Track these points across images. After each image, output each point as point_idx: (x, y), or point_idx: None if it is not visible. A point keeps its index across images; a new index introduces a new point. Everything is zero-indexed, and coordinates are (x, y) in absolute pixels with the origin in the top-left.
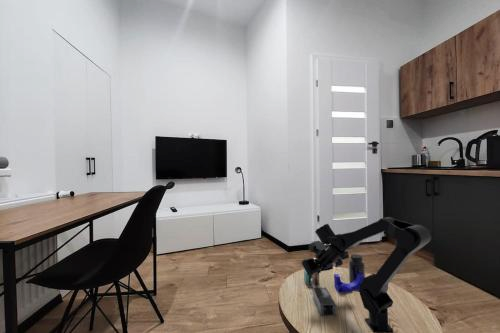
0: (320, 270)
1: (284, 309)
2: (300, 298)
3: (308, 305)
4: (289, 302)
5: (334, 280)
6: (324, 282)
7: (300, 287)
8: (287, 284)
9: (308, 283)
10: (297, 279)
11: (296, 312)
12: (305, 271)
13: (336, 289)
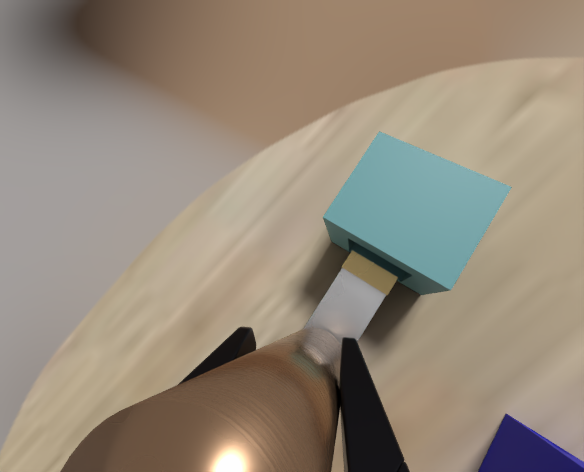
0: (344, 468)
1: (36, 383)
2: (168, 357)
3: None
4: (98, 348)
5: (543, 451)
6: (482, 300)
7: (266, 253)
8: (232, 181)
9: (344, 248)
10: (329, 159)
11: (50, 452)
12: (347, 184)
13: (484, 463)
